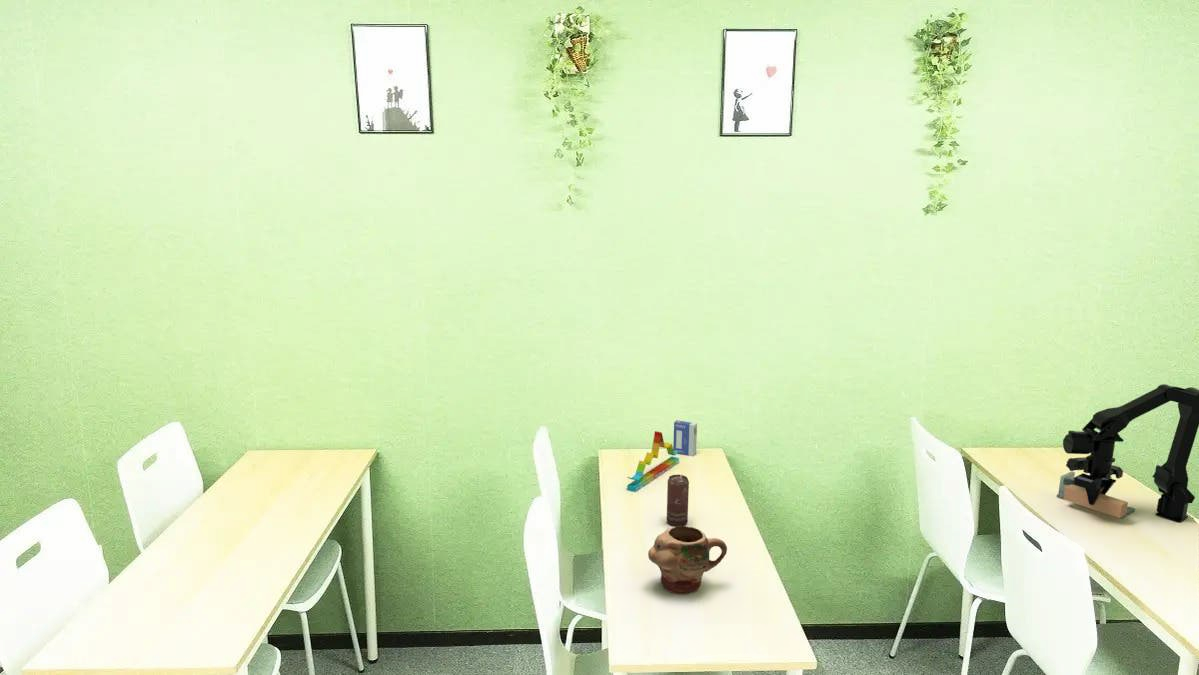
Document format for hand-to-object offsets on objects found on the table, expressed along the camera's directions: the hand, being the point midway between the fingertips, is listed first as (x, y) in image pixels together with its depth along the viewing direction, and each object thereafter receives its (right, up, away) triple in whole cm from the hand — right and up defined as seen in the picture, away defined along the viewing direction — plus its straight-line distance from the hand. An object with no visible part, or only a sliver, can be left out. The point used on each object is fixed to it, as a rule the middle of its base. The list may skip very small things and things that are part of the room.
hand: (1094, 502), depth 245 cm
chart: (-131, +3, +28) cm, 134 cm away
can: (-127, -5, -7) cm, 127 cm away
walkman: (-119, +8, +48) cm, 128 cm away
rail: (0, -1, 0) cm, 1 cm away
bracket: (+1, -1, +12) cm, 13 cm away
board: (+5, -2, +8) cm, 9 cm away
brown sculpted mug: (-127, -12, -41) cm, 134 cm away
